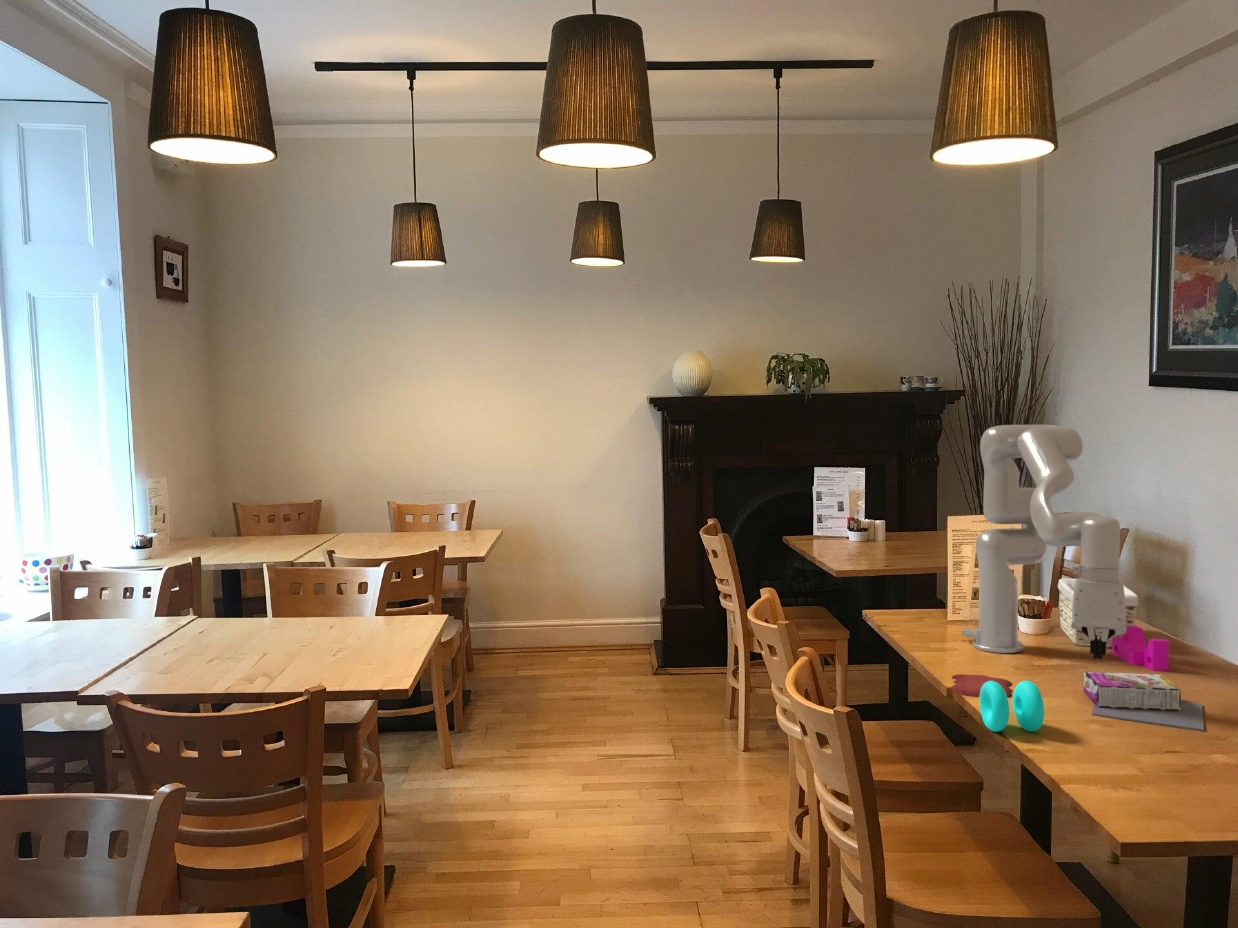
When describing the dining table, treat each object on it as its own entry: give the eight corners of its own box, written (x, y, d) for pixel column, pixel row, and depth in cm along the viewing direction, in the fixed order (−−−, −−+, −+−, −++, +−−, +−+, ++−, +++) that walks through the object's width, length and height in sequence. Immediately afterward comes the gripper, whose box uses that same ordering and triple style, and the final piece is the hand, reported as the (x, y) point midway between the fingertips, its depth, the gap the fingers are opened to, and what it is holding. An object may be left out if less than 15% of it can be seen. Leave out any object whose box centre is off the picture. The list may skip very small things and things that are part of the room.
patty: (950, 677, 226) (950, 669, 226) (1012, 682, 221) (1012, 674, 221) (947, 699, 210) (947, 690, 210) (1014, 705, 205) (1014, 696, 204)
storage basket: (1055, 626, 272) (1056, 576, 271) (1117, 629, 267) (1118, 578, 266) (1071, 647, 249) (1072, 593, 248) (1139, 651, 244) (1140, 595, 243)
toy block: (1112, 654, 242) (1112, 626, 242) (1136, 654, 242) (1137, 625, 242) (1142, 671, 227) (1142, 641, 227) (1168, 671, 227) (1169, 640, 227)
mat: (1091, 715, 196) (1091, 713, 196) (1098, 691, 212) (1098, 689, 212) (1203, 731, 186) (1204, 729, 186) (1201, 705, 202) (1201, 703, 202)
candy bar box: (1083, 669, 210) (1162, 673, 207) (1082, 691, 211) (1162, 695, 207) (1098, 684, 199) (1182, 689, 196) (1097, 707, 200) (1181, 712, 197)
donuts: (977, 721, 194) (977, 674, 193) (1025, 721, 194) (1026, 674, 193) (994, 739, 184) (995, 689, 183) (1046, 739, 184) (1047, 689, 183)
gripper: (1059, 574, 203) (1058, 657, 204) (1138, 580, 195) (1136, 666, 196) (1063, 568, 209) (1062, 649, 210) (1139, 574, 201) (1138, 657, 202)
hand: (1098, 657), depth 203 cm, fingers closed
